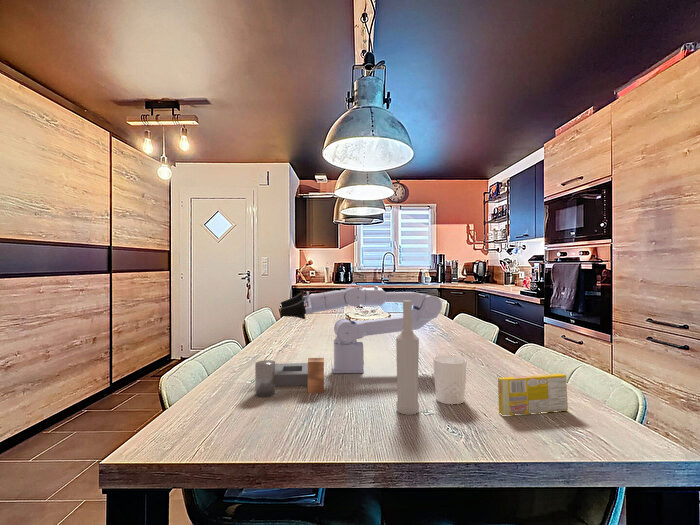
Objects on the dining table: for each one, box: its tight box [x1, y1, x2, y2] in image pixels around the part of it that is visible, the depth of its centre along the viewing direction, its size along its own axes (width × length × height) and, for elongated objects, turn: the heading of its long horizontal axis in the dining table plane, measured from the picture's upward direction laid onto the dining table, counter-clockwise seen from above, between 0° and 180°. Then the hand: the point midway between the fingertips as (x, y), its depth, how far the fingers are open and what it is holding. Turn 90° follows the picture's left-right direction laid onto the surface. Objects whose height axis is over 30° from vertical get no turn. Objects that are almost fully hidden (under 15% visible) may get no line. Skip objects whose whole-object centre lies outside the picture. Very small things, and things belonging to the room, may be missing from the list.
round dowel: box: [254, 359, 276, 398], centre depth 95 cm, size 5×5×8 cm
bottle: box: [395, 300, 420, 416], centre depth 83 cm, size 5×5×25 cm
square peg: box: [307, 357, 325, 394], centre depth 98 cm, size 4×4×8 cm
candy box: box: [497, 373, 569, 415], centre depth 82 cm, size 16×2×8 cm, turn 100°
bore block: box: [275, 362, 308, 387], centre depth 107 cm, size 12×12×3 cm
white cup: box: [433, 355, 467, 406], centre depth 90 cm, size 8×8×10 cm
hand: (281, 309), depth 114 cm, fingers open, 7 cm apart
